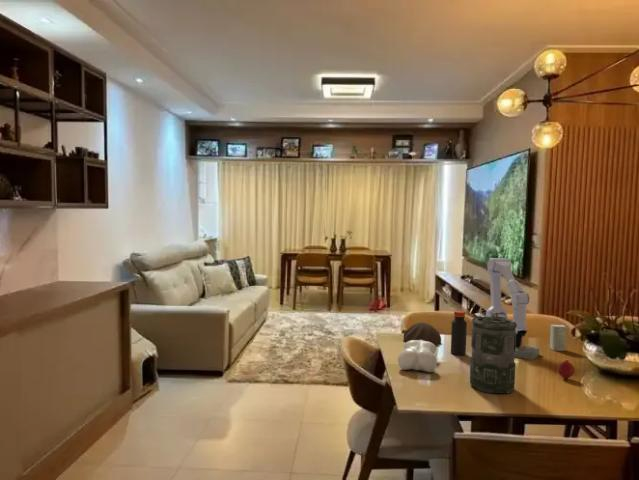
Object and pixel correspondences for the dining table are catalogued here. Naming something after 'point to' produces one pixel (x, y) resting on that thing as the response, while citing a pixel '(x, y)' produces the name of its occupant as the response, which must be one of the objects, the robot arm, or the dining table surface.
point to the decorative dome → (422, 333)
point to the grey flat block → (527, 352)
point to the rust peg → (521, 344)
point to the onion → (566, 369)
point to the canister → (493, 354)
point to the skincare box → (558, 337)
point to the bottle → (458, 334)
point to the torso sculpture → (418, 356)
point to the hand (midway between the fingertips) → (518, 346)
